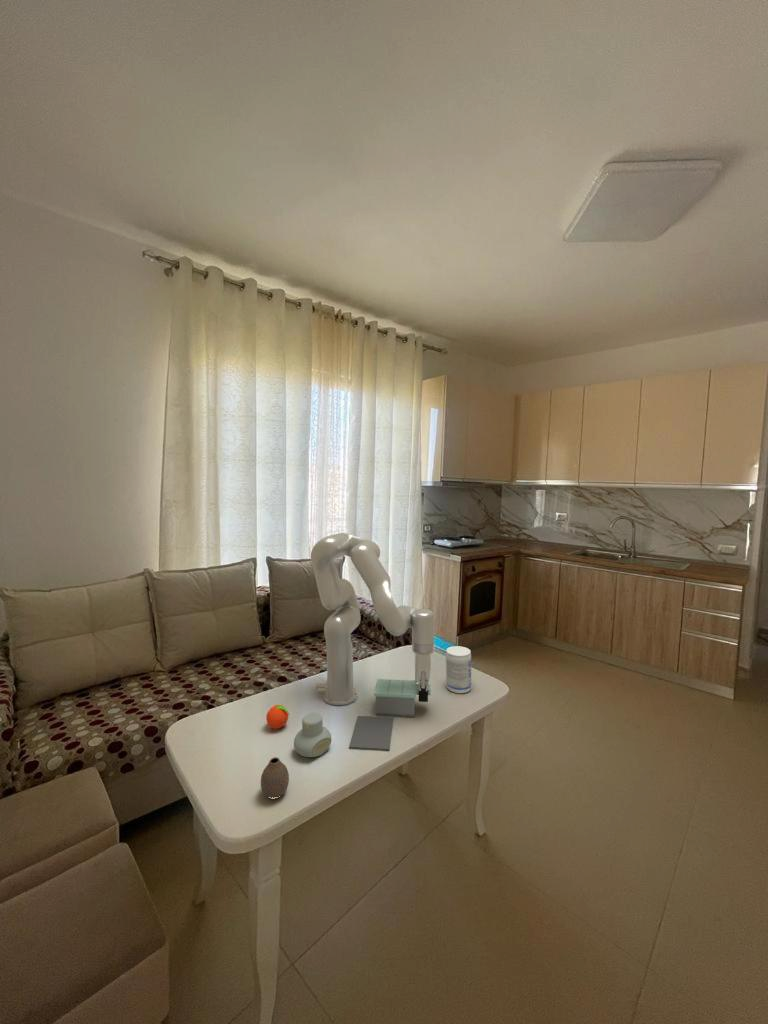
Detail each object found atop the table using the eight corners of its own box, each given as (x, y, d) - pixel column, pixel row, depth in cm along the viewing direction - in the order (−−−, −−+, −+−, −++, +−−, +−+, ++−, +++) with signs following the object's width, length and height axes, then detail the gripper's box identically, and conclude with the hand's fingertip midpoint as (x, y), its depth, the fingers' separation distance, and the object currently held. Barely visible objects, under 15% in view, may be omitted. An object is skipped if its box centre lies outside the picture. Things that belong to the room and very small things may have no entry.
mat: (348, 748, 117) (348, 746, 117) (357, 717, 133) (357, 715, 133) (389, 750, 116) (389, 748, 116) (393, 719, 132) (393, 717, 132)
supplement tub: (474, 693, 148) (475, 655, 147) (450, 695, 147) (450, 656, 146) (466, 680, 157) (466, 644, 156) (442, 682, 156) (443, 646, 155)
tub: (375, 715, 134) (375, 695, 134) (378, 701, 143) (378, 682, 142) (414, 717, 133) (414, 697, 132) (414, 702, 142) (414, 683, 141)
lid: (374, 698, 133) (373, 692, 133) (377, 683, 143) (377, 678, 143) (430, 700, 131) (430, 694, 131) (430, 685, 141) (430, 680, 141)
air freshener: (305, 766, 110) (304, 731, 109) (289, 752, 116) (288, 719, 115) (336, 747, 118) (335, 715, 117) (319, 735, 124) (318, 704, 123)
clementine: (295, 722, 130) (295, 702, 130) (284, 735, 124) (284, 713, 123) (273, 719, 132) (273, 698, 132) (262, 731, 126) (261, 710, 125)
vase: (255, 799, 98) (254, 766, 98) (272, 780, 105) (271, 748, 104) (278, 807, 96) (277, 773, 95) (294, 787, 102) (293, 754, 102)
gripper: (412, 636, 144) (412, 685, 145) (411, 656, 128) (411, 710, 129) (433, 637, 143) (433, 686, 145) (434, 656, 127) (434, 711, 128)
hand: (423, 697), depth 137 cm, fingers closed on lid, 4 cm apart
